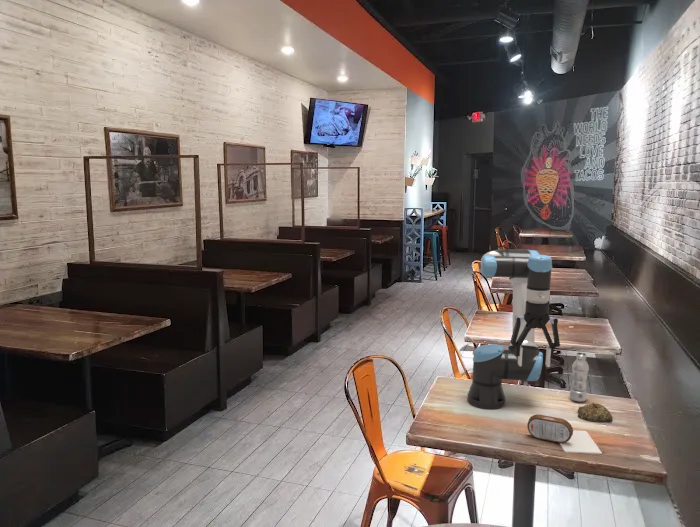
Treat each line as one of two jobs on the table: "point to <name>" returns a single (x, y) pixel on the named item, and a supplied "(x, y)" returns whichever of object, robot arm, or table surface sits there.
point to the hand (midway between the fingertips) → (533, 365)
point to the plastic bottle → (579, 378)
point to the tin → (550, 428)
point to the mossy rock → (594, 413)
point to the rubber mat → (580, 444)
